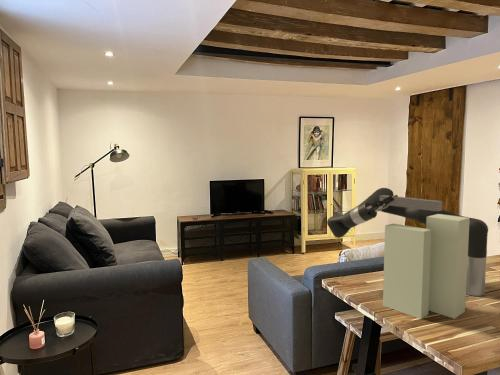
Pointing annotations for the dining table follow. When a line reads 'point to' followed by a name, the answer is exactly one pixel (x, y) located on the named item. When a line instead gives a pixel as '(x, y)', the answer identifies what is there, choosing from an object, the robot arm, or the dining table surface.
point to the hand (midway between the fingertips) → (394, 197)
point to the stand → (448, 264)
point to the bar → (414, 203)
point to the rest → (407, 269)
